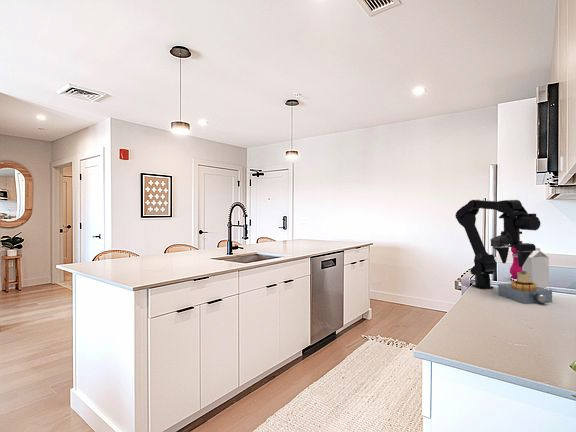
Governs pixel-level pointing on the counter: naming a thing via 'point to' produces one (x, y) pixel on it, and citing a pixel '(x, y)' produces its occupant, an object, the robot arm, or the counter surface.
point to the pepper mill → (514, 264)
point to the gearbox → (525, 293)
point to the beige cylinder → (523, 278)
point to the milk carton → (538, 268)
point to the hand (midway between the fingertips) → (512, 265)
